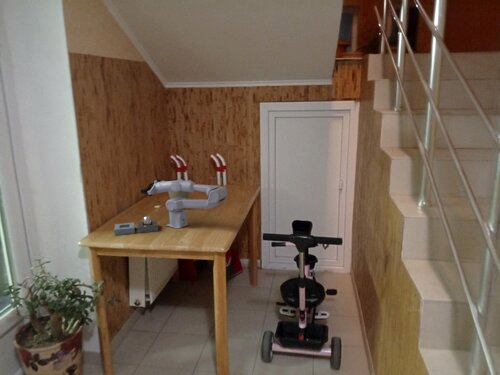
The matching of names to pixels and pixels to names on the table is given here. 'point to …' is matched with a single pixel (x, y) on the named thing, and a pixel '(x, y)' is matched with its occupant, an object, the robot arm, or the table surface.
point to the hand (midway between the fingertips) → (145, 188)
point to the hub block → (124, 228)
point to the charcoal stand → (147, 227)
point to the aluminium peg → (147, 220)
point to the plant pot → (178, 194)
